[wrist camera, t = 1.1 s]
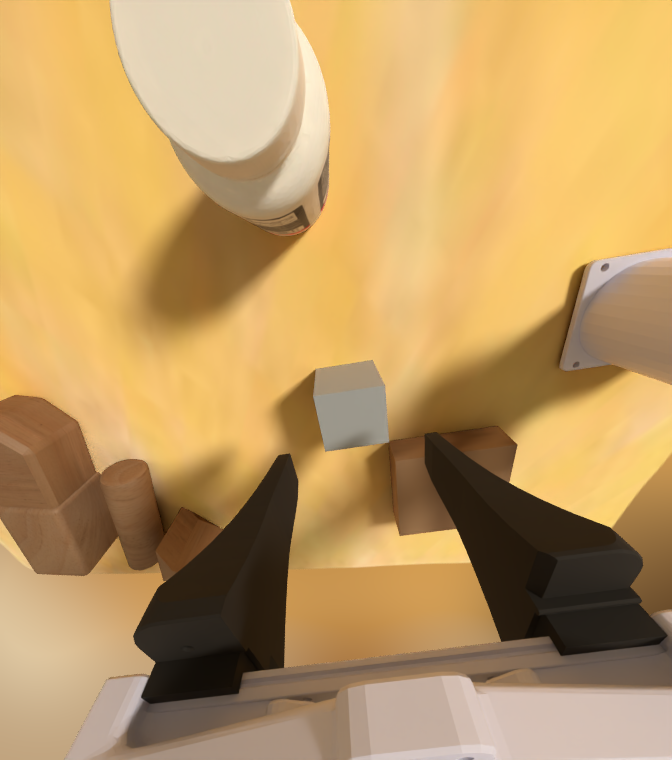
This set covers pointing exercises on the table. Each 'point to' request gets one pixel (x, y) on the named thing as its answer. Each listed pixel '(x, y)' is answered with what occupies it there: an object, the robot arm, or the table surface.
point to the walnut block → (414, 486)
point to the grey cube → (351, 405)
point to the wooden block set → (82, 499)
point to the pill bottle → (234, 102)
